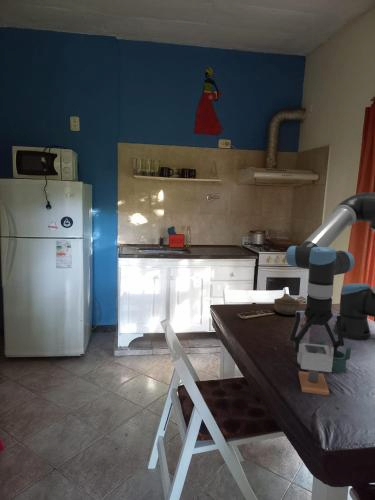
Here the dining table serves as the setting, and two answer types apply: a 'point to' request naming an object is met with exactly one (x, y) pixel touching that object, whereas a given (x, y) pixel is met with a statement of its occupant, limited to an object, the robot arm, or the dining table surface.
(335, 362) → the bracket
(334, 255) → the robot arm
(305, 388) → the keeper
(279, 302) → the bowl
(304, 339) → the beverage can
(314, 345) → the white square sleeve
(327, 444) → the dining table surface
